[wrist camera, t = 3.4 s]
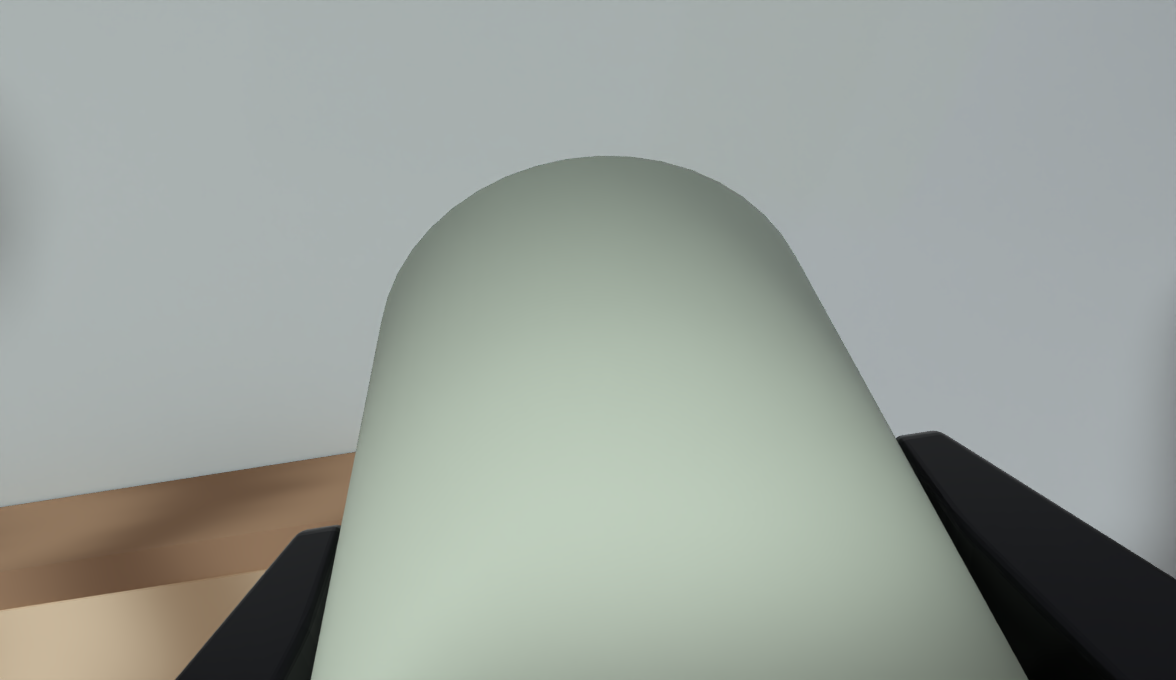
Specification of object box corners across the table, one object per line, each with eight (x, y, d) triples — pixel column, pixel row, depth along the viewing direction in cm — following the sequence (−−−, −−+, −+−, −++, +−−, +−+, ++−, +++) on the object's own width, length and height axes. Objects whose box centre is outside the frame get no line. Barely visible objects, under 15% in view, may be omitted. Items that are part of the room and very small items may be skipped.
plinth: (381, 448, 20) (369, 516, 18) (477, 733, 25) (475, 806, 24) (-86, 520, 20) (-140, 595, 18) (110, 788, 26) (82, 865, 24)
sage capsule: (811, 120, 10) (1520, 1030, 3) (814, 486, 12) (1183, 1386, 6) (324, 198, 10) (-72, 1266, 3) (434, 545, 12) (357, 1506, 6)
